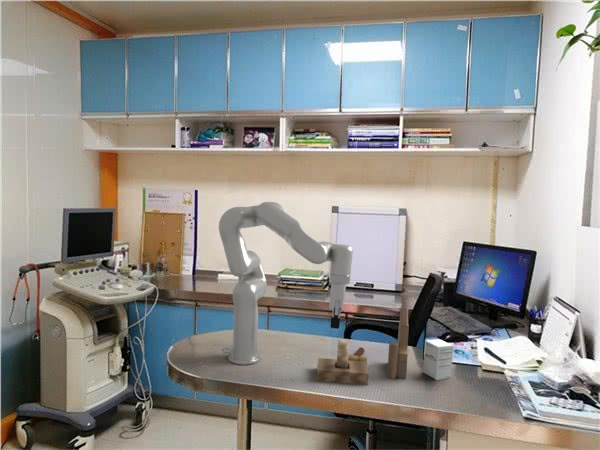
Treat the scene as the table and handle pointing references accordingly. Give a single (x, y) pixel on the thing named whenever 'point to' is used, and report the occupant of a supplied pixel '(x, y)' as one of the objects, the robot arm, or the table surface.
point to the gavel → (358, 356)
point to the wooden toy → (399, 349)
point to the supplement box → (438, 359)
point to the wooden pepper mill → (342, 354)
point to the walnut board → (342, 372)
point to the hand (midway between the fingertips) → (334, 327)
